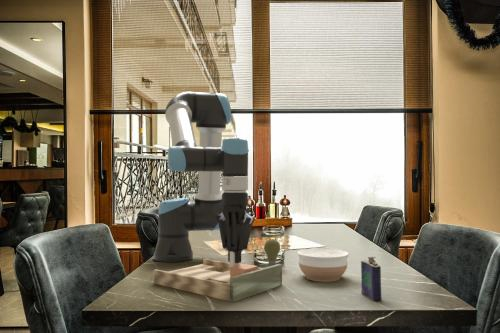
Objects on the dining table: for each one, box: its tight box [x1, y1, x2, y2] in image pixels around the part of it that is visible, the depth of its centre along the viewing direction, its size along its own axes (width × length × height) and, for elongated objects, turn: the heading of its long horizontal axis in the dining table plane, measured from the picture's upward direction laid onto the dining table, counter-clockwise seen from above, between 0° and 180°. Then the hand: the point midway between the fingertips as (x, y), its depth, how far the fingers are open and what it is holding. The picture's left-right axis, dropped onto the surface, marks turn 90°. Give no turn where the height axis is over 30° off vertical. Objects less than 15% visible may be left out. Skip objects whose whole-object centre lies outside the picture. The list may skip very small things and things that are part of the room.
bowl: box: [297, 247, 350, 283], centre depth 136 cm, size 16×16×8 cm
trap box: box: [153, 258, 283, 303], centre depth 127 cm, size 31×22×6 cm
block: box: [230, 263, 258, 277], centre depth 121 cm, size 6×6×4 cm
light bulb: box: [263, 238, 281, 267], centre depth 151 cm, size 6×6×10 cm
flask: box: [360, 256, 383, 303], centre depth 114 cm, size 9×3×11 cm, turn 8°
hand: (234, 273), depth 123 cm, fingers closed
